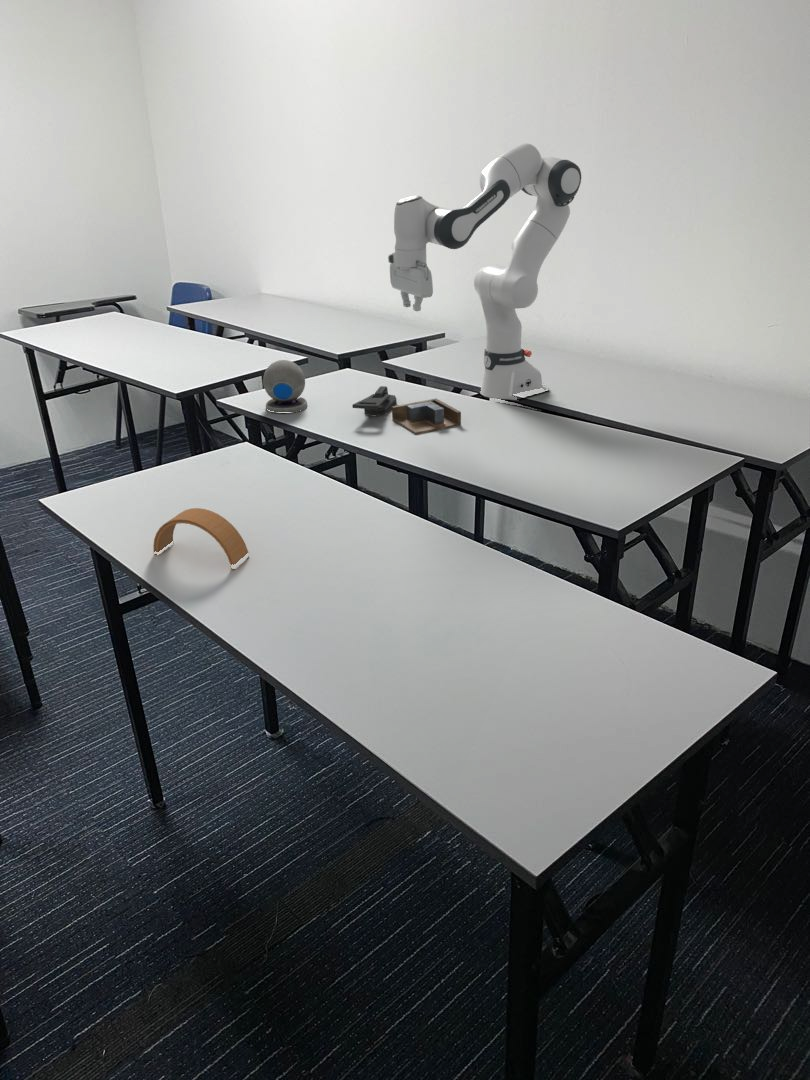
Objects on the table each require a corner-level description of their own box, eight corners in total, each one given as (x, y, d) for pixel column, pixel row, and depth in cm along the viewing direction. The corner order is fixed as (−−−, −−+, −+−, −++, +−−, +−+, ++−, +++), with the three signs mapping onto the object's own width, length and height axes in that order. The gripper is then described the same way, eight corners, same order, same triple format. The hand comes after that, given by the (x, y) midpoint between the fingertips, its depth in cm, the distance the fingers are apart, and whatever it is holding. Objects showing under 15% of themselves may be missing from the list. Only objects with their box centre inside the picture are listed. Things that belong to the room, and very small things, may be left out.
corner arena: (436, 411, 251) (436, 398, 249) (460, 425, 239) (460, 411, 237) (392, 419, 245) (391, 406, 243) (415, 434, 233) (414, 420, 231)
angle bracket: (431, 415, 245) (430, 401, 243) (444, 423, 239) (443, 408, 236) (407, 420, 242) (406, 405, 240) (419, 428, 235) (419, 413, 233)
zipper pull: (349, 405, 238) (370, 380, 259) (350, 426, 241) (371, 400, 262) (379, 406, 236) (398, 381, 258) (380, 428, 239) (398, 401, 261)
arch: (171, 543, 177) (163, 501, 173) (249, 558, 170) (243, 515, 166) (154, 555, 173) (145, 512, 168) (234, 571, 166) (227, 527, 161)
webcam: (308, 400, 264) (304, 354, 257) (305, 413, 253) (301, 365, 246) (268, 402, 264) (263, 356, 257) (263, 415, 252) (258, 367, 245)
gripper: (438, 262, 223) (438, 313, 229) (404, 253, 239) (406, 301, 246) (417, 264, 220) (418, 316, 227) (385, 255, 237) (387, 304, 243)
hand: (411, 308), depth 236 cm, fingers open, 5 cm apart
